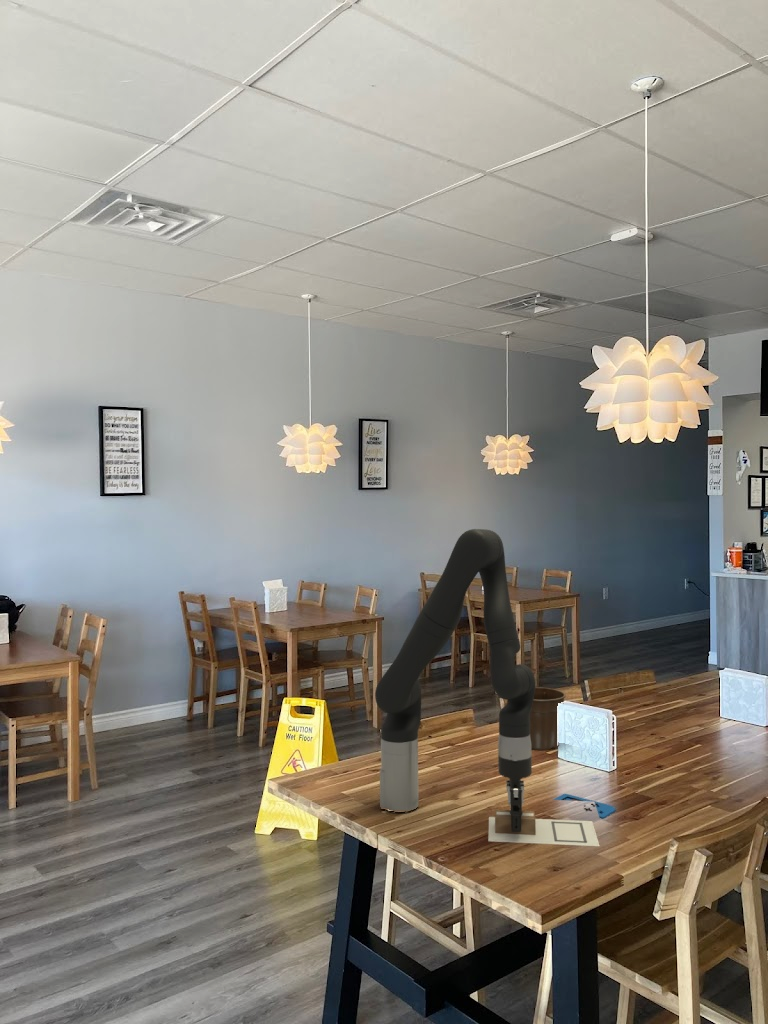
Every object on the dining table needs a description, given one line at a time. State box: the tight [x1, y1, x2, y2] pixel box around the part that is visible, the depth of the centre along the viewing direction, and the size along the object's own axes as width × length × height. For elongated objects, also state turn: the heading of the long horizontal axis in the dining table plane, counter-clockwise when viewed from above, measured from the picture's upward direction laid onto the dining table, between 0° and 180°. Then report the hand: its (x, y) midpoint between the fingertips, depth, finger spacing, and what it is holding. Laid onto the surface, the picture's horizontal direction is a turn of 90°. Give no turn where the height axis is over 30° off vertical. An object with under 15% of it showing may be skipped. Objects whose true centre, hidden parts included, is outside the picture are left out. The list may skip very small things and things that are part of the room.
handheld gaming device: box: [552, 793, 616, 820], centre depth 201 cm, size 8×1×15 cm
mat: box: [487, 816, 600, 847], centre depth 185 cm, size 24×14×1 cm, turn 82°
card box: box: [494, 809, 536, 835], centre depth 186 cm, size 9×5×4 cm, turn 82°
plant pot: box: [530, 686, 566, 751], centre depth 253 cm, size 16×16×16 cm
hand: (515, 824), depth 186 cm, fingers open, 8 cm apart
